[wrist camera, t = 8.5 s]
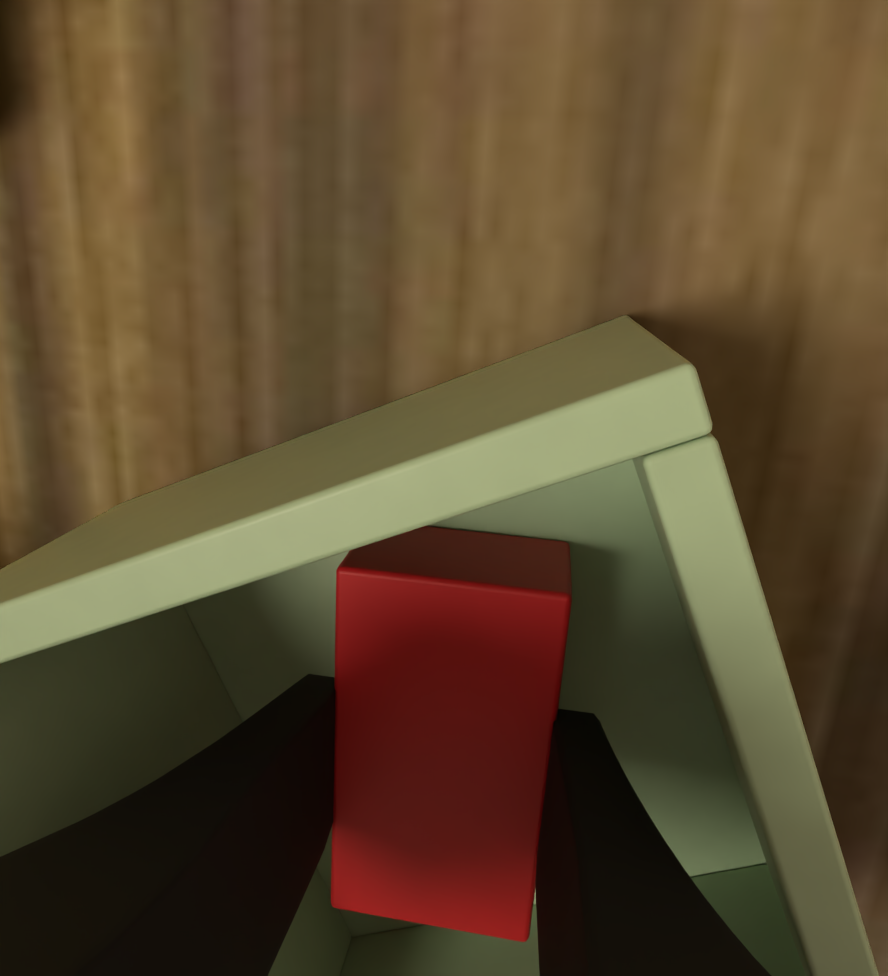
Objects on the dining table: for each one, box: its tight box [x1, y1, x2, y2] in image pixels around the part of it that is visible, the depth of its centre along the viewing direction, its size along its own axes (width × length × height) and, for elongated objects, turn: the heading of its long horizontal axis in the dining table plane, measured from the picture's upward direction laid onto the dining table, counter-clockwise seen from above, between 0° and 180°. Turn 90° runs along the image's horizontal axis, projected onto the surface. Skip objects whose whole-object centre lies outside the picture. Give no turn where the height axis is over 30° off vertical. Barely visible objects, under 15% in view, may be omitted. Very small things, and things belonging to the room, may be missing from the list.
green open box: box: [0, 315, 879, 976], centre depth 10 cm, size 10×9×6 cm
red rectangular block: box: [331, 526, 572, 942], centre depth 11 cm, size 6×3×2 cm, turn 177°
